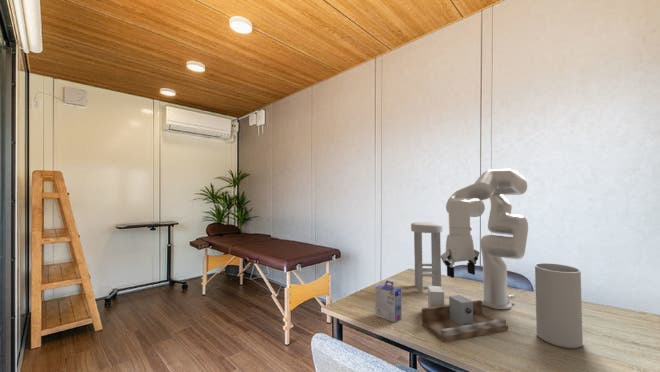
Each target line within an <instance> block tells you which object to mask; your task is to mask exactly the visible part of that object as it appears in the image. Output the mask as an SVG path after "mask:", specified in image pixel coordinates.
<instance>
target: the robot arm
mask: <svg viewBox="0 0 660 372" xmlns="http://www.w3.org/2000/svg"><path fill="white" fill-rule="evenodd" d="M527 190H528V183H527V180H526V178H525V177H524V176H523V175H521V173H519V172H518V171H516V170H515V169H511V168H503V169H502V168H501V169H500V168H499V169H489V170H485V171H484V172H482V173H481V175H480V176H479V177H478V178H477V179H476V181H475V182H474V183H473V184H470V185H468V186H465V187H462V188H460V189H458V190H457V191H456V190H455V191H454V192H453V193H452V195H451V196H450V197H449V198H448V199H447V201H446V204H445V209H446V212H447V214H448V229H449V234H447V235H446V241H445V252H443V253H442V254H441V261H442V262H443V264H444V266H446V275H447V277H450V278H452V279H453V278H455V268H454V265H455V263H459V262H467V263H466V264H467V267H466V268H467V273H468V274H470V275H473V276H475V274H476V268H475V267H476V264H477V261H478V260H479V256H480V251H481V256H482V272H483V273H482V277H483V278H482V280H483V281H482V283H483V297H480V299H479V300H481V301H482V306H484V307H487V308H490V309H495V310H503V311H504V310H509V309H512V307H513V305H512V304H513V303H511V302H510V300H514V299H516V296H515V295H514V294H508V269H507V264H506V263H505V261H504V260H503V258H505V259H510V260H521V259H523V258H524V256H525V254H526V253H525V252H526V246H527V240H528V239H527V238H528V235H529V234H528V232H529V222H528V220H527V218H526V217H525V216H524V215H520V214H512V209H513V206H512V204H511V202H510V201H509V200H508V198H506V197H505V196H506V195H507V196H510V195H511V196H513V195H514V196H515V195H516V196H520V195H523V194H524V193H526V192H527ZM504 195H505V196H504ZM488 199H489V202H490V212H489V215H488V221H487V229H488V232H491V234H486V235H484V236H482V237H481V238H480V242H479V245H480V251H478V250H477V249H475V248H474V241H473V240H474V239H473V236H472V234H471V231H472V229H473V228H472V227H471V218H476V217H477V218H478V217H480V216H482V215H483V214H484V212H485V209H486V208H485V203H484V202H483V201H486V200H488ZM504 235H506V236H504Z"/></svg>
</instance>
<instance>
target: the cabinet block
mask: <svg viewBox="0 0 660 372" xmlns="http://www.w3.org/2000/svg"><path fill="white" fill-rule="evenodd" d="M448 300H449V301H448V302H449V303H448V305H449V315H450V320H452V321H453V322H455V323H456V324H458V325H460V326H464V325H470V324H473V301H474V300H471V299H469V298H467V297H465V296H464V295H460V294H457V295H456V294H455V295H449V296H448Z"/></svg>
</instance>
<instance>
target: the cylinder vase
mask: <svg viewBox="0 0 660 372" xmlns="http://www.w3.org/2000/svg"><path fill="white" fill-rule="evenodd" d="M534 272H535V273H534V276H535V277H534V279H535V280H534V281H535V285H534V286H535V317H536V319H535V320H536V321H535V322H536V334H537V336H538V337H539V338H540V339H541V340H542V341H545V342H546V343H548V344H550V345H553V346H557V347H560V348H564V349H578V348H581V347H582V346H583V343H584V342H583V340H584V339H583V337H584V336H583V312H582V311H583V310H582V309H583V306H582V279H581V278H582V276H581V275H582V274H581V269H579V268H578V267H574V266H570V265H567V264H566V265H565V264H559V263H550V262H549V263H547V262H540V263H536V264H535V265H534Z"/></svg>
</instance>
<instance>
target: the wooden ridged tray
mask: <svg viewBox="0 0 660 372" xmlns="http://www.w3.org/2000/svg"><path fill="white" fill-rule="evenodd" d="M472 301H473V324H470V325H464V326H460V325H458V324H456V323H455V322H453V321H452V320H450V315H449V304H444V305H443V306H436V307H429V308H428V307H422V308H421V325H422V326H423V328H425V329H426V330H427V331H429V332H430V333H432V334H433V335H434V336H436V337H437V338H438V339H440V340H441V341H442V342H443V343H447V342H453V341H456V340H463V339H469V338H473V337H479V336H485V335H489V334H490V335H491V334H495V333H499V332H500V333H501V332H504V331H505V332H506V331H508V330H509V329H508V328H509V327H508V325H507V319H505V318H500V319H494V318H493V317H490V316H489V315H486V314H485V313H483V304H482V301H481V300H480V299H478V300H472Z"/></svg>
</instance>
